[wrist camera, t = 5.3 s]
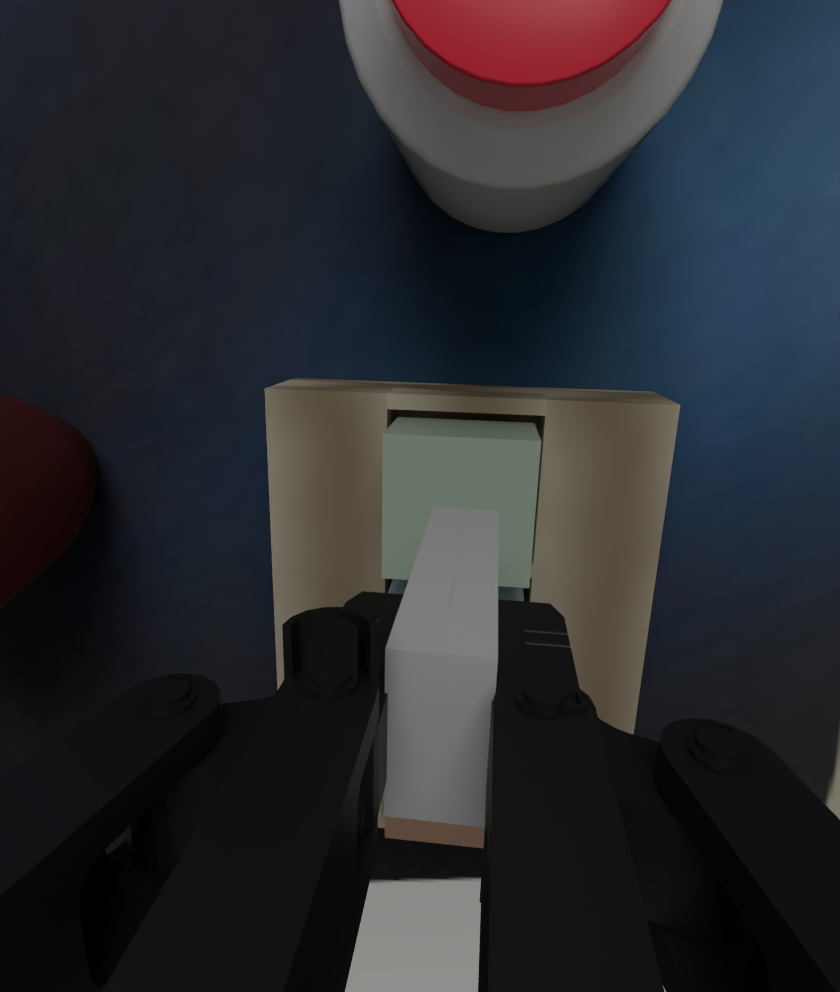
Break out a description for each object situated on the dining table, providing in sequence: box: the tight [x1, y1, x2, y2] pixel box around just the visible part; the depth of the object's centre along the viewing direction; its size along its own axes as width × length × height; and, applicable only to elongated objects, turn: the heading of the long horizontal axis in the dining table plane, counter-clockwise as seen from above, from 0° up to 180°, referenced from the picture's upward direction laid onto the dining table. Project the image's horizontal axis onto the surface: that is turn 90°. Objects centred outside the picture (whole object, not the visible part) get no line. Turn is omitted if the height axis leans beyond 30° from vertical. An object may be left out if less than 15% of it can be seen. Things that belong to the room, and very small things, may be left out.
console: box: [265, 378, 680, 828], centre depth 24 cm, size 13×17×3 cm
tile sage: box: [381, 417, 541, 588], centre depth 20 cm, size 4×4×3 cm
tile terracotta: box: [385, 816, 485, 848], centre depth 24 cm, size 4×4×3 cm
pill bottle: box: [339, 0, 724, 233], centre depth 15 cm, size 8×8×11 cm
